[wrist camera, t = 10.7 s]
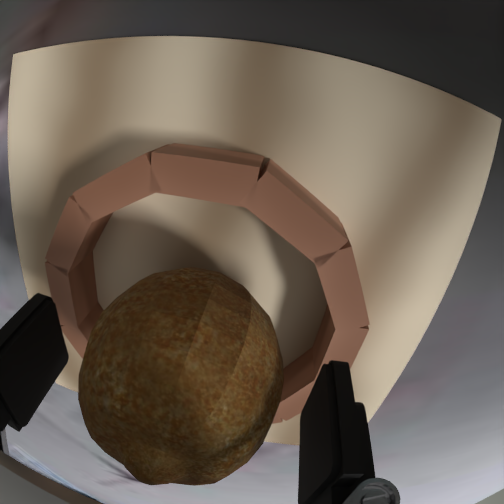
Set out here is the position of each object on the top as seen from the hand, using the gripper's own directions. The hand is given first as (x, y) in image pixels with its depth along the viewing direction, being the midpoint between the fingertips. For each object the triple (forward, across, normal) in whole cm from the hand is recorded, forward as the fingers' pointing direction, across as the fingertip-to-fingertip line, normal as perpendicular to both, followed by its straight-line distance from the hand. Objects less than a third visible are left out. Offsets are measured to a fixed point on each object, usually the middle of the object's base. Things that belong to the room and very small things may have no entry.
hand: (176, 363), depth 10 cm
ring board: (+5, 0, 0) cm, 5 cm away
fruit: (+4, 0, 0) cm, 4 cm away
